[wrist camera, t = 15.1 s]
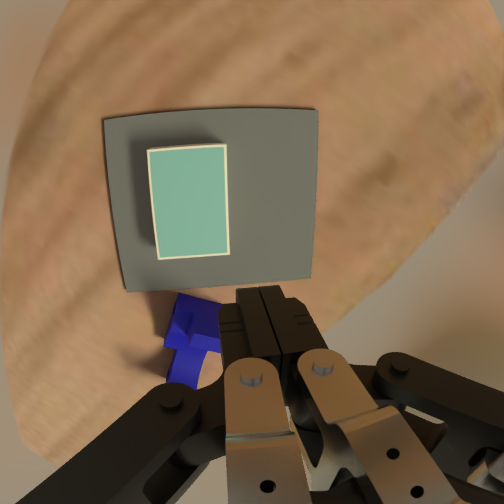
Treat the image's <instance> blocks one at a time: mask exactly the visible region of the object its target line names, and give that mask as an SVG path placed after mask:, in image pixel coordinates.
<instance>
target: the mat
mask: <svg viewBox="0 0 504 504" xmlns="http://www.w3.org/2000/svg"><path fill="white" fill-rule="evenodd" d="M104 129H105V145H106V158H107V169H108V179H109V188H110V196H111V204H112V211H113V219H114V225H115V232H116V238H117V244H118V250H119V255H120V261H121V266H122V271H123V276H124V281H125V286H126V290H127V293H128V292H145V291H161V290H176V289H190V288H204V287H217V286H230V285H242V284H254V283H265V282H276V281H287V280H297V279H308V278H311V268H312V256H313V241H314V226H315V209H316V188H317V162H318V110H301V109H271V108H236V109H206V110H189V111H175V112H164V113H154V114H144V115H136V116H128V117H121V118H114V119H107V120H104ZM205 143H225V144H227V185H228V217H229V245H230V255H219V256H205V257H191V258H177V259H163V260H158V256H157V248H156V241H155V233H154V224H153V215H152V205H151V195H150V184H149V172H148V158H147V150H148V149H150V148H153V147H164V146H175V145H189V144H205Z"/></svg>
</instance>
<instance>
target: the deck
mask: <svg viewBox="0 0 504 504" xmlns="http://www.w3.org/2000/svg"><path fill="white" fill-rule="evenodd" d="M147 158H148V172H149V184H150V195H151V205H152V215H153V224H154V233H155V241H156V248H157V256H158V260H163V259H177V258H191V257H205V256H219V255H230V245H229V217H228V185H227V144H225V143H205V144H189V145H175V146H164V147H153V148H150V149H148V150H147Z"/></svg>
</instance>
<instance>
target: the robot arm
mask: <svg viewBox="0 0 504 504" xmlns="http://www.w3.org/2000/svg"><path fill="white" fill-rule="evenodd" d="M218 326H219V339H220V350H221V357H222V365H223V373H222V375H221V376H220V378H219V379H218V380H217V381H215V382H214V383H213V384H211V385H209V386H206V387H204V388H201V389H198V390H194V389H193V388H191V387H190V386H188V385H185V384H182V383H177V382H170V383H164V384H161V385H158V386H156V387H154V388H153V389H151V390H150V391H149V392H148V393H147V394H146V395H145V396H143V397H142V398H141V399H140V400H139V401H138V402H137V403H136V404H134V405H133V406H132V407H131V408H130V409H129V410H128V411H126V412H125V413H124V414H123V415H122V416H121V417H119V418H118V419H117V420H116V421H115V422H114V423H113V424H111V425H110V426H109V427H108V428H107V429H106V430H104V431H103V432H102V433H101V434H100V435H99V436H97V437H96V438H95V439H94V440H93V441H92V442H90V443H89V444H88V445H87V446H86V447H84V448H83V449H82V450H81V451H80V452H78V453H77V454H76V455H75V456H74V457H72V458H71V459H70V460H69V461H68V462H66V463H65V464H64V465H63V466H62V467H60V468H59V469H58V470H57V471H56V472H54V473H53V474H52V475H51V476H49V477H48V478H47V479H46V480H44V481H43V482H42V483H41V484H39V485H38V486H37V487H36V488H35V489H33V490H32V491H31V492H29V493H28V494H27V495H26V496H24V497H23V498H22V499H21V500H19V501H18V502H17V503H15V504H175V503H176V502H177V501H178V500H179V498H180V497H181V496H182V495H183V494H184V493H185V492H186V490H187V489H188V488H189V487H190V486H191V485H192V484H193V482H194V481H195V480H196V479H197V478H198V477H199V475H200V474H201V473H202V472H203V471H204V469H205V468H206V467H207V466H208V464H209V462H210V461H211V460H214V459H217V458H219V457H222V456H225V455H226V468H227V487H228V504H504V392H502V391H499V390H496V389H494V388H491V387H488V386H486V385H483V384H480V383H478V382H475V381H472V380H470V379H467V378H465V377H462V376H460V375H457V374H455V373H452V372H449V371H447V370H444V369H442V368H440V367H437V366H434V365H432V364H430V363H427V362H425V361H422V360H420V359H417V358H415V357H412V356H410V355H408V354H405V353H400V352H391V353H387V354H384V355H383V356H381V357H380V358H379V359H378V361H377V364H376V366H367V365H353V364H348V362H347V361H346V359H345V358H344V357H343V356H342V355H341V354H339V353H337V352H335V351H332V350H329V349H328V347H327V345H326V343H325V341H324V339H323V337H322V336H321V334H320V332H319V330H318V328H317V326H316V324H315V323H314V321H313V319H312V317H311V316H310V313H309V312H308V310H307V308H306V306H305V305H304V304H303V303H302V302H300V301H299V300H298V299H296V298H295V297H294V298H285V296H284V294H283V292H282V290H281V288H280V286H279V285H273V286H262V287H258V288H257V287H251V288H238V289H236V303H229V304H222V306H221V308H220V310H219V311H218ZM285 406H288V407H289V410H290V413H291V416H290V428H291V430H292V432H291V430H290V428H289V423H288V418H287V413H286V409H285ZM407 406H409V407H412V408H414V409H416V410H419V411H421V412H423V413H426V414H428V415H431V416H433V417H435V418H438V419H440V420H442V421H444V423H441V424H435V423H432V422H430V421H427V420H425V419H423V418H420V417H418V416H416V415H414V414H411V413H409V412H407V411H405V409H406V407H407ZM301 454H302V456H303V459H304V461H305V463H306V466H307V468H308V470H309V473H310V477H311V487H312V491H309V487H308V483H307V478H306V474H305V469H304V465H303V461H302V456H301Z"/></svg>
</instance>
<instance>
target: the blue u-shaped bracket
mask: <svg viewBox="0 0 504 504" xmlns="http://www.w3.org/2000/svg"><path fill="white" fill-rule="evenodd" d="M221 306H222V304H220V303H216V302H212V301H208V300H204V299H201V298H197V297H193V296H189V295H186V294H182V293H178V296H177V299H176V303H175V306H174V309H173V312H172V315H171V319H170V322H169V325H168V328H167V332H166V335H165V338H164V347H168V348H172V349H175V352H174V355H173V358H172V361H171V365H170V368H169V371H168V374H167V377H166V383H170V382H177V383H182V384H185V385H188V386H190V387H191V388H193V389H194V390H197V384H198V378H199V374H200V370H201V367H202V363H203V360H204V358H205V355H206V353H207V351H213V352H217V353H221V350H220V339H219V326H218V311H219V310H220V308H221Z"/></svg>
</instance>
